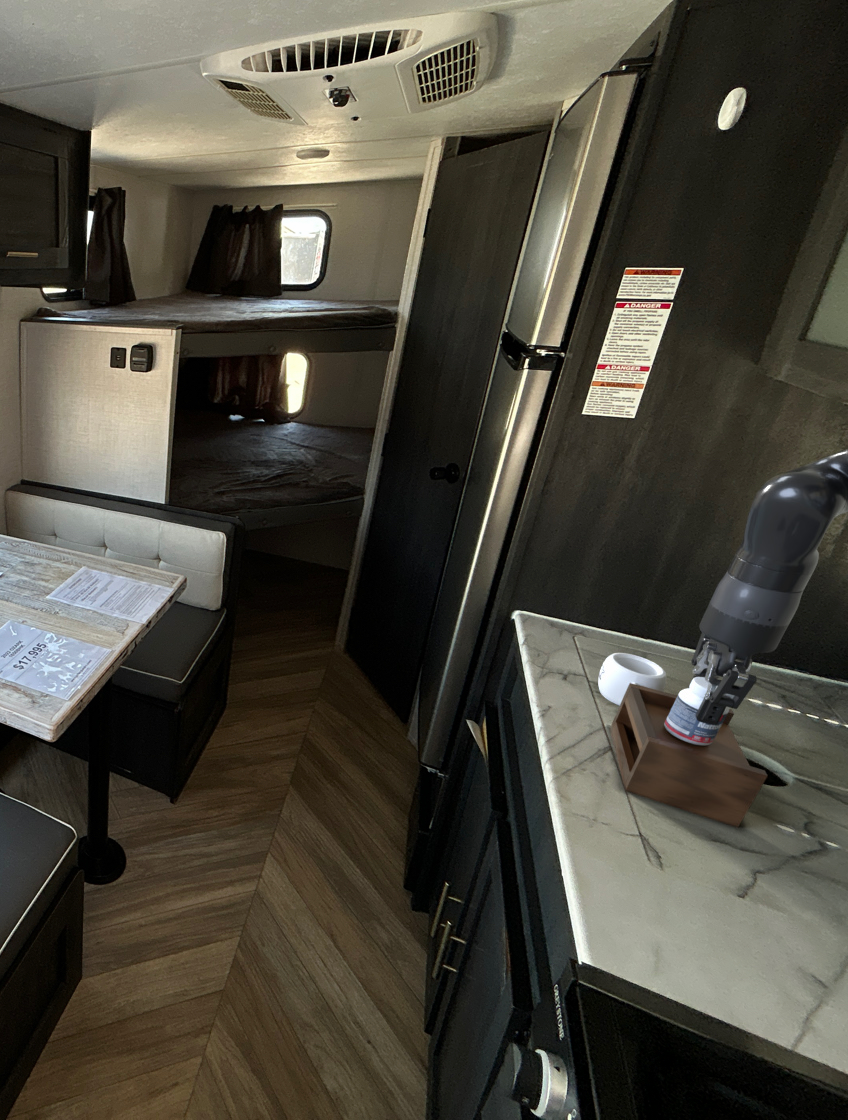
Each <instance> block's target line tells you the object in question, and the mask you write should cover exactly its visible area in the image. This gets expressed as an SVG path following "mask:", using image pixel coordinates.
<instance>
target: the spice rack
mask: <svg viewBox="0 0 848 1120" xmlns="http://www.w3.org/2000/svg"><path fill="white" fill-rule="evenodd" d="M677 696H678V694H674V693H670V692H666V691H663V692H662V691H659V690H655V689H651V688H647V687H643V686H640V685H636V684H632V683H629V686H628V688H627V690H626V692H625V695H624V697H623V699H622V702H621V704H620V706H619V705H618V706H619V707H618V709H617V711H616V713H615V716H614V717H613V720H612V722H611V725H610V727H609V732H610V736H611V740H612V744H613V748H614V751H615V755H616V759H617V762H618V767H619V771H620V775H621V779H622V782H623V787H624V790H625V792H628V793H631V794H634V795H637V796H640V797H643V798H646V799H649V800H652V801H655V802H658V803H661V804H665V805H667V806H670V807H674V808H677V809H679V810H683V811H685V812H689V813H692V814H694V815H698V816H700V817H703V818H706V819H710V820H712V821H716V822H719V823H722V824H724V825H728V826H732V827H734V828H736V829H738V828H739V826H740V825H741V823H742V822H743V820H744V818H745V816H746V815H747V813H748V811H749V809H750V807H751V806H752V804H753V802H754V801H755V799H756V797H757V795H759V792H760V790H761V789H762V787H763V785H764V783H765V781H766V780H767V779H768V774H767V772H766V770H765V769H762V768H758V767H754V766H751V765H750V763H749V761H748V760H747V757H746V756H745V754H744V752H743V750H742V748H741V746H740V744H739V741H738V740H737V738H736V736H735V734H734V732H733V730H732V728H731V726H730V723H731V721H732V719H733V717H734V715H735V713H734V711H733V710H732V708H729V712H728V714H727V716H726V718H725V719H724V721H723V723H722V725H721V727H720V729H719V731H718V733H717V735H716V736H715V738H714V740H713V742H712V743H711V744H710V745H705V746H702V745H695V744H691V743H688V742H686V741H683V740H681V739H679V738H677V737H675V736H674V735H672V734H671V733H670V732H668V731H667V730H666V728H665V726H664V723H665V721H666V719H667V717H668V715H669V713H670V711H671V708H672V707H673V705H674V702H675V700H676V698H677Z"/></svg>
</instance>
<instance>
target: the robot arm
mask: <svg viewBox="0 0 848 1120" xmlns="http://www.w3.org/2000/svg"><path fill="white" fill-rule="evenodd" d="M845 513H848V448H846V449H843V450H840V451H838V452H835V453H832V454H830V455H827V456H825V457H822V458H820V459H817V460H815V461H811V462H808V463H806V464H804V465H800V466H798V467H796V468H793V469H790V470H788V471H786V472H782V473H779V474H778V475H775V476H773V477H772V478H770V479H767V481H766V482H765V483H763V485H762V486H761V487H760V488H759V490H758V491H757V493H756V495H755V497H754V498H753V500H752V503H751V505H750V508H749V511H748V515H747V517H746V518H747V519H746V522H745V527H744V531H743V536H742V537H743V538H742V541H741V543H740V545H739V546H738V548H737V549H736V551H735V553H734V555H733V558H732V560H731V562H730V564H729V566H728V569H727V571H726V573H725V574H724V576H723V577H722V578H721V579H720V581H719V583H718V584H717V586H716V588H715V591H714V592H713V594H712V597H711V599H710V601H709V603H708V605H707V607H706V609H705V612H704V613H703V616H702V618H701V621H700V623H699V625H698V628H699V630H700V631H701V634H700V637H699V640H698V643H697V645H696V647H695V650H694V653H693V655H692V659H691V661H690V663H691V666H694V667H693V668H692V675H693V677H692V678H691V680H690V683H689V685H688V686H687V688H689V686H690V684H691V682H692V680H693V678H695V677H705V681H706V682H708V687H707V691H706V693H705V697H704V699H703V701H702V703H701V705H700V707H699V709H698V711H697V713H696V715H695V717H696V719H697V720H698V721H700V722H703V723H707V724H710V725H717V724H718V722H719V720H720V718H721V717H722V715H723V713H724V711H725V709H726V707H729V709H734V710H737V709H738V708H739V707H740V706H741V704H742V702H743V701H744V700H745V698H746V697H747V695H748V694H749V693H750V691H751V689H753V687H754V685H755V684H756V682H757V676H756V675H754V674H750V673H748V672H750V671H751V669H752V665H753V659H752V656H753V655H756V654H767V653H772V652H774V651H775V650H776V649H777V648H778V646H779V644H780V642H781V640H782V638H783V636H784V634H785V633H786V630H787V628H788V627H789V625H790V623H791V622H792V619H793V618H794V616H795V614H796V612H797V610H798V608H799V607H800V606H799V605H800V602H801V598H802V595H803V593H804V590H805V589H806V586H807V585H808V582H809V581H810V579H811V577H812V575H813V574H814V571H815V569H816V567H817V565H818V562H819V558H820V553H819V551H818V548H819V546H820V545H821V542H822V541H823V538H824V536H825V534H826V532H827V531H828V528H829V527H830V525H831V524H832V522H833V521H834V519H835V518H836V517H838V516H840V515H843V514H845ZM720 677H721V678H722V679H719V678H720ZM716 686H718V687H717V688H716ZM715 689H716V690H715ZM723 694H726V696H725V695H723Z"/></svg>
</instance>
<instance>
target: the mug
mask: <svg viewBox="0 0 848 1120" xmlns="http://www.w3.org/2000/svg"><path fill="white" fill-rule="evenodd" d="M667 679H668V677H667V672H666V670H665V669H664V668H663V667H662V666H661V665H659V664H658V663H656V662H654V661H652V660H649V659H647V658H645V657H642V656H639V655H635V654H632V653H627V652H626V653H625V652H615V653H611V654H610V655H608V656H607V657H606V658H605V660H604V661H603V663H602V665H601V667H600V670H599V673H598V679H597V680H598V681H597V682H598V690H599V692H600V694H601V696H602V697H604V698H605V699H606V700H607V701H609V702H610V703H612V704H615V705H617V706H620V704H621V702H622V699H623V697H624V695H625V692H626V690H627V688H628V686H629V683H632V684H636V685H640V686H643V687H647V688H651V689H655V690H659V691H662V692H664V690H665V688H666V685H667Z"/></svg>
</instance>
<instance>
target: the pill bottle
mask: <svg viewBox="0 0 848 1120" xmlns="http://www.w3.org/2000/svg"><path fill="white" fill-rule="evenodd" d="M692 678H693V677H692ZM691 680H692V679H691ZM690 682H691V681H690ZM689 685H690V686H689ZM689 685H688V687H689V688H688V687H687V688H683V689H681V690H680V691H679V693H678V694H677V695H678V696H677V698H676V700H675V702H674V705H673V707H672V708H671V711H670V713H669V715H668V717H667V719H666V721H665V723H664V726H665V728H666V730H667V731H668V732H670V733H671V734H672V735H674V736H675V737H677V738H679V739H681V740H683V741H686V742H688V743H691V744H695V745H702V746H705V745H710V744H711V743H712V742H713V740H714V738H715V736H716V735H717V733H718V731H719V729H720V727H721V725H722V723H723V721H724V719H725V718H726V716H727V714H728V712H729V709H730V707H726V709H725V711H724V713H723V715H722V717H721V718H720V720H719V722H718V724H717V725H710V724H707V723H703V722H700V721H698V720H697V719H696V717H695V715H696V713H697V711H698V709H699V707H700V705H701V703H702V701H703V699H704V697H705V693H706V691H707V687H708V682H706V681H705V677H695V678H693V680H692V682H691V684H690V683H689ZM717 687H718V686H716V688H717ZM715 690H716V689H715ZM723 695H725V696H726V694H723Z"/></svg>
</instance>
